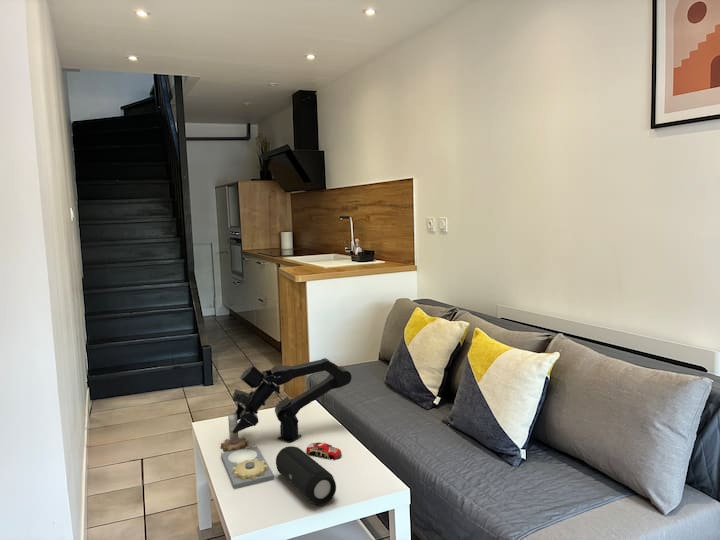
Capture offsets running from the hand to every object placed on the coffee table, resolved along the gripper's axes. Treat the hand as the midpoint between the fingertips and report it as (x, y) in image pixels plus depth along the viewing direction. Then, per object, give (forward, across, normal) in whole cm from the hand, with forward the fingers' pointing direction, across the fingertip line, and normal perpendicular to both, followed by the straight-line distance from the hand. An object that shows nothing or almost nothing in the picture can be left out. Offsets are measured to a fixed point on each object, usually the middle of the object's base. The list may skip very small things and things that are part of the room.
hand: (232, 427), depth 200 cm
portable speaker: (-8, +38, +19) cm, 44 cm away
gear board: (+3, +18, +7) cm, 20 cm away
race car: (-16, +18, +27) cm, 36 cm away
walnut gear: (+5, 0, +6) cm, 8 cm away
